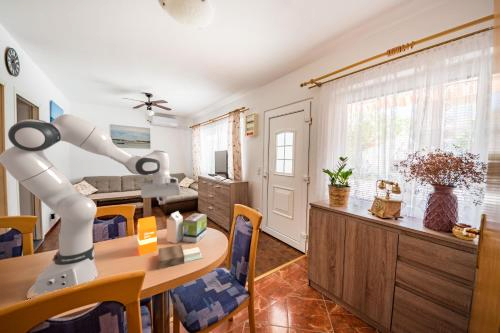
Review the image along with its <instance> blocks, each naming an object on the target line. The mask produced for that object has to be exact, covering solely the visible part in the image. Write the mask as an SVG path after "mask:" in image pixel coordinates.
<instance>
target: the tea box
mask: <svg viewBox="0 0 500 333" xmlns="http://www.w3.org/2000/svg"><path fill="white" fill-rule="evenodd" d="M207 216H208V215H207V214H205V213H192V214H191V215H189V216H187V217H186V218H185V219H184V218H183V239H182V241H183V242H186V243H194V244H195V243H196V244H197V243H198V242H199V241H200V240H202V238H203V237H204V236H205V235H207V226H208V225H207V223H208V222H207V219H208V218H207Z"/></svg>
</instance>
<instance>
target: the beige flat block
mask: <svg viewBox="0 0 500 333" xmlns="http://www.w3.org/2000/svg"><path fill="white" fill-rule="evenodd" d="M182 250H183V253H184V259H185V258H190V257H194V256H199V255H200V252H201V250H200V248H199V246H196V247H192V248H187V249H182Z"/></svg>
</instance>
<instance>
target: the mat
mask: <svg viewBox="0 0 500 333" xmlns="http://www.w3.org/2000/svg"><path fill="white" fill-rule="evenodd" d="M200 259H201V260H202V259H204V257H203V254H202V252H201V251H200V255H199V256H194V257H190V258H185V259H184V263H187V262H192V261H196V260H200Z"/></svg>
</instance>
